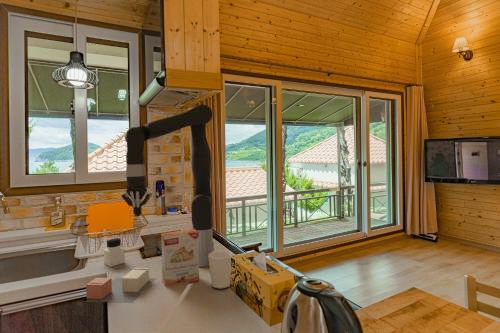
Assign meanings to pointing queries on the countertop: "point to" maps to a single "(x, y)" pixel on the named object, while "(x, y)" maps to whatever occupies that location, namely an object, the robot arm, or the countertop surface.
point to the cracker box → (180, 257)
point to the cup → (220, 268)
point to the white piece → (128, 286)
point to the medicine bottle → (114, 252)
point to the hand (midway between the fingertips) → (137, 215)
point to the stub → (99, 288)
